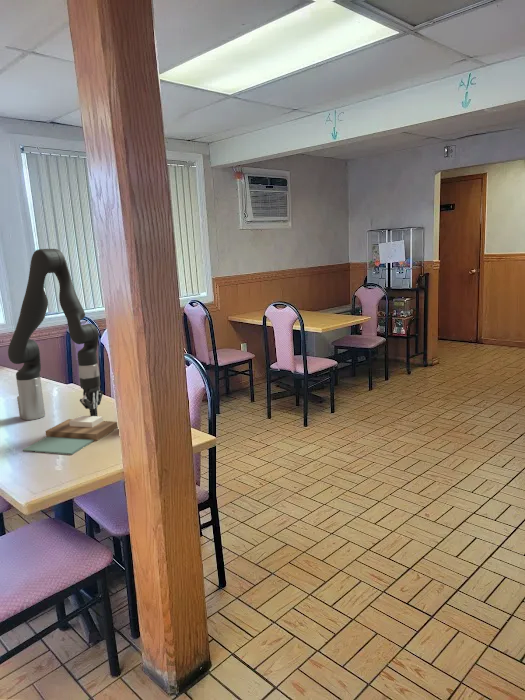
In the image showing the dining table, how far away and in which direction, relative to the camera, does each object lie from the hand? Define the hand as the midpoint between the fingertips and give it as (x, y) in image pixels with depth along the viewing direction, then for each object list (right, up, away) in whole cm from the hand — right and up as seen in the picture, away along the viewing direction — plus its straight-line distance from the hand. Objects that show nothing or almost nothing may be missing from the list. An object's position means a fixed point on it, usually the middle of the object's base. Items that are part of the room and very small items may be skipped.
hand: (94, 417), depth 206 cm
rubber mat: (-6, -8, -20) cm, 22 cm away
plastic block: (-2, -1, -5) cm, 5 cm away
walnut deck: (-2, -5, -7) cm, 9 cm away
